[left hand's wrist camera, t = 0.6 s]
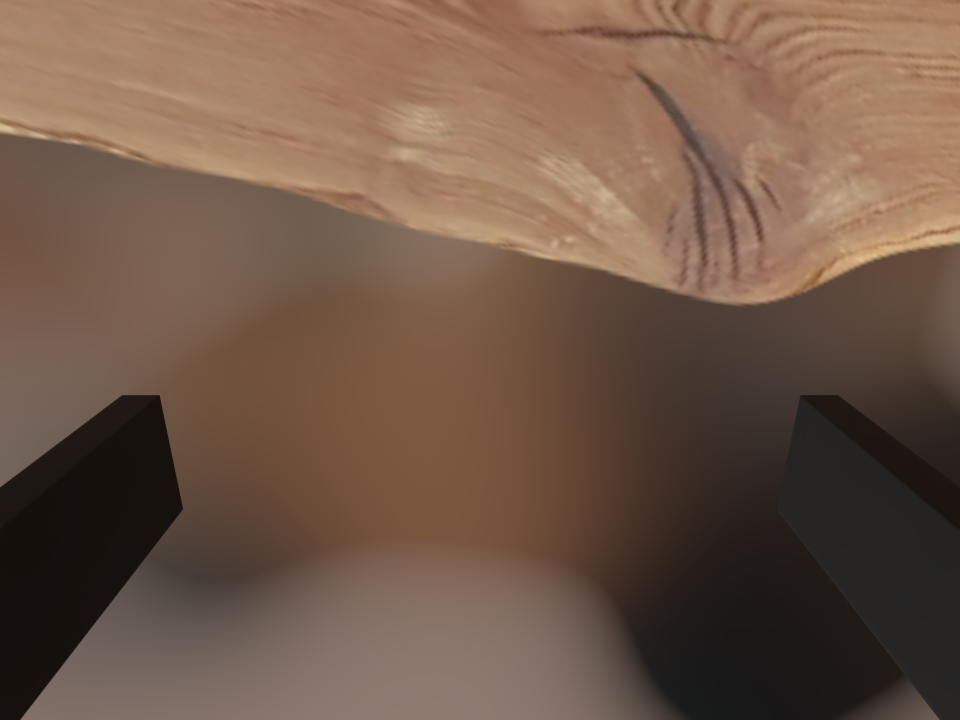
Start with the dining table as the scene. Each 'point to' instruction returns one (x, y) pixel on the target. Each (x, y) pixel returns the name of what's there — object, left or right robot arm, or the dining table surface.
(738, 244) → the dining table surface
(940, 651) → the left robot arm
